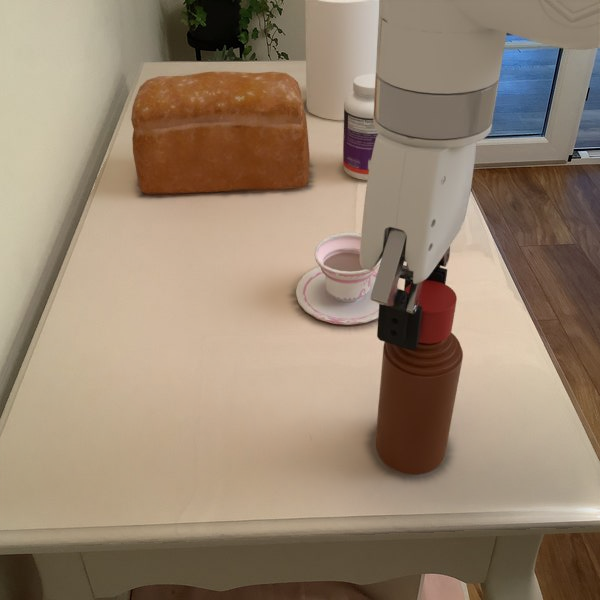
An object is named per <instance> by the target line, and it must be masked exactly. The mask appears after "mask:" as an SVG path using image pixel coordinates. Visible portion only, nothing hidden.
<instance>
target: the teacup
mask: <svg viewBox="0 0 600 600" xmlns="http://www.w3.org/2000/svg"><path fill="white" fill-rule="evenodd" d="M360 244H361V233H359V232H351V231H350V232H349V231H347V232H340V233H334V234H332V235H329V236H327V237H326V238H324V239H323V240H321V241H320V242H319V243H318V244H317V246H316V247H315V250H314V259H315V262H316V263H317V265H318V266H316V267H313V269H311V270H309V271H308V272H306V273H304V274H303V275H302V277H301V278H300V279H299V281H297V285H296V289H295V296H296V299H297V304H298V305H299V306H300V307H301V308H302V309H303V310H304V312H305V313H307V314H309V315H311V316H312V317H313V318H315V319H317V320H319V321H324V322H326V323H331V324H334V325H348V326H350V325H351V326H352V325H359V324H366V323H369V322H372V321H375V320H378V315H379V304H378V302H374V301H371V293H372V290H373V286H374V283H375V280H376V276H377V273H378V268H379V266H380V263H381V260H380V261H379V262H378V263H377V265H376V266H375V267H374V268H373V270H372V271H371V270H368V269H367V270H365V269H363V268H362V267H361V265H360ZM381 259H382V258H381Z"/></svg>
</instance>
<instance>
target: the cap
mask: <svg viewBox="0 0 600 600" xmlns="http://www.w3.org/2000/svg"><path fill="white" fill-rule="evenodd" d="M410 286H411V284H410V285H409V286H407V288H406V289H405V291H406V292H407V293H408V294H409V291H410ZM457 298H458V297H457V294H456V292H455V290H454V289H452V287H450V286H449V285H447V284H443V283H440V282H437V281H430V280H424V281H423V284H422V289H421V294H420V299H419V304H418V305H419V306H421V307H423V311H422V319H421V327H420V336H419V342H420V343H429V344H432V343H438V342H441V341H443V340H445V339H447V338H448V337H449V335H450V334H451V333H452V331H453V324H454V320H455V319H454V318H455V312H456V306H457V301H458V300H457Z"/></svg>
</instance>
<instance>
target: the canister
mask: <svg viewBox="0 0 600 600" xmlns="http://www.w3.org/2000/svg"><path fill="white" fill-rule="evenodd" d="M304 2H305V4H304V6H305V7H304V8H305V9H304V10H305V12H304V13H305V15H304V16H305V81H306V82H305V88H306V93H305V95H306V109H307V111H308V113H310V114H312V115H314V116H316V117H319V118H322V119H325V120H326V119H327V120H332V121H344V102H345V100H346V98H347V97H348V96H349V95H350V94H351V93H353V92H354V91H353V81H354V79H355V78H356V77H358V76H361V75H366V74H376V59H377V39H378V19H379V0H304Z"/></svg>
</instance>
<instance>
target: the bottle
mask: <svg viewBox="0 0 600 600" xmlns="http://www.w3.org/2000/svg"><path fill="white" fill-rule="evenodd" d="M383 342H384V341H383ZM381 359H382V360H381V371H380V383H379V395H378V396H379V397H378V407H377V420H376V431H375V444H374V445H375V450H376V453H377V455H378V457H379V458H380V460H381V461H382V462H383V464H385V465H386V466H387V467H389V468H390V469H392V470H394V471H396V472H399V473H402V474H406V475H423V474H427V473H430V472H432V471H434V470H436V469H437V468H438V467H439V466H440V465H441V464H442V462H443V461H444V459H445V456H446V451H447V446H448V441H449V435H450V429H451V424H452V419H453V414H454V409H455V402H456V396H457V392H458V386H459V380H460V375H461V370H462V364H463V359H464V353H463V349H462V346H461V342H460V340H459V339H458V338H457V336H456V335H455V334H454V333H453V332H451V334H450V335H449V337H448V338H447V339H445V340H443V341H441V342H438V343H432V344H429V343H420V342H419V344H418V346H417V348H416V350H414V351H411V350H408V349H405V348H402V347H399V346H396V345H393V344H390V343H387V342H384V343H383V347H382V358H381Z"/></svg>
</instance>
